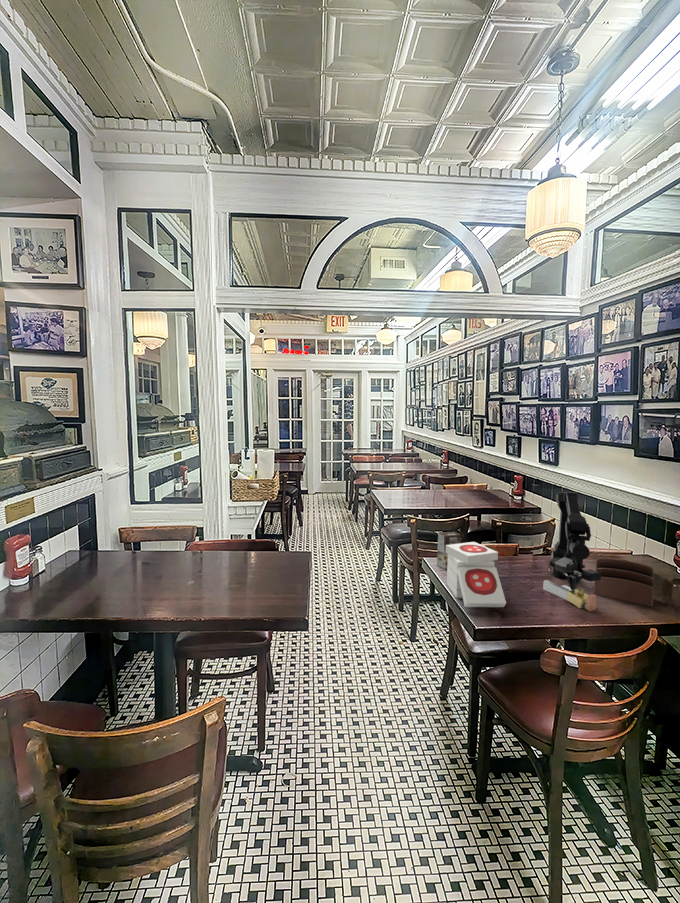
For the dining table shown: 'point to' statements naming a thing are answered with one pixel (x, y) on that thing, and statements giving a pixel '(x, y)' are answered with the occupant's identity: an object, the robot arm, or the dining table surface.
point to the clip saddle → (577, 597)
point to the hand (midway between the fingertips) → (572, 589)
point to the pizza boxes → (474, 575)
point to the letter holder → (625, 581)
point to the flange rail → (563, 593)
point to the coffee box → (444, 540)
